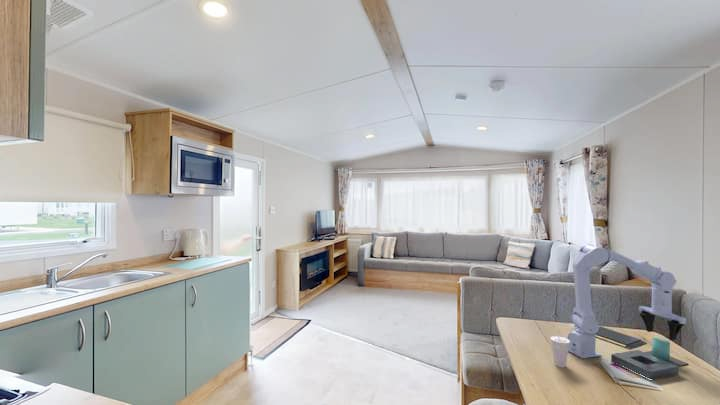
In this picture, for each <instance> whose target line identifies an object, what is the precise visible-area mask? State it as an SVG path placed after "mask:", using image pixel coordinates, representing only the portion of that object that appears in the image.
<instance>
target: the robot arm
mask: <svg viewBox="0 0 720 405" xmlns="http://www.w3.org/2000/svg"><path fill="white" fill-rule="evenodd" d="M577 253H578V254H577V256H576V258H575V259H574V261H573V263H572V269H573V282H574V294H575V307H573V310H572V311H573V312H572V315H571V322H572V323H573V324H574V326H573V330H572V331H571V332H569V333H568V335H567V339H568V340H569V341H570V345H569V349H568V353H571V354H573V355H576V356H577V357H580V358H581V359H588V358H589V359H591V358H594V357H595V358H596V357H600V356H602V354H601V353H600V352H597V351H596V339H597V338H596V332H598V330H599V327H600V324H599V322H598V321H597V319H596V318H597V317H596V314H595V313H594V310H593V305H592V304H593V303H592V291H591V278H590V270H591V269H593V268H595V267H596V266H599V265H601V264H604V263H606V262H609V263H610V262H615V263H617V264H620V265H622V266H623V267H624V266H625V267H627V268H629V269H630V270H631V273H633V274H635V275H637V276H639V277H641V278H644V279H646V280H648V281H650V283H651V307H648V306H644V305H639V306H638V311H639V312H640V313H639V316H640V317H641V319H642V320H643V322H644V326H645V329H646V332H648V333H651V332H654V331H653V330H654V320H655V317H656V316H657V317H660V318H662V319H666V320H669V321H667V326H668V328H669V331H668V332H669V336H668V337H669V340H670V341H674V340H675V341H676V340H677V336H678V334H679V332H680V330H681V329H682V328H683V327H684V326H685V324H687V318H686V317H683V316H680V315H677V314H674V313H673V312H672V310H673V307H672V305H673V303H672V302H673V301H672V298H673V296H672V295H673V290H674V286H675V285H676V283H677V279H676V278H675V276H674V274H673V273H672V272H669V271H666V270H663V269H662V268H661V266H660V267H659V266H654V265H652V264H649V261H646V260H639V259H638V260H633V259H631V258H629V257H626V256H624V255H622V254H620V253H619V252H616V251H614V250H609V249H606V248H604V247H598V246H595V245H593V244H584V245H583V246H582V247H580V248H579V249H578V252H577Z"/></svg>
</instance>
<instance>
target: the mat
mask: <svg viewBox="0 0 720 405" xmlns="http://www.w3.org/2000/svg"><path fill="white" fill-rule="evenodd" d="M643 352H644V353H647V354H649V355H652V350H649V351H643ZM668 362H669V363H671V364H673V365H676V366H678V367H684V366H688V365H689V363H687V362H685V361H683V360H680V359H678V358H675V357H673V356H671V355H670V361H668Z"/></svg>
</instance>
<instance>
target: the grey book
mask: <svg viewBox="0 0 720 405" xmlns="http://www.w3.org/2000/svg"><path fill="white" fill-rule="evenodd" d="M596 339H599V340H601V341H604V342H607V343H609V344H613V345H615V346H618V347H621V348H622V349H627V350H629V351H631V350H633V349H636V348H639V347H642V346H645V345H647V344H648V342H646V341H644V340H643V339H640V338H638V337H634V336H632V335H631V336H630V335H628V334H625V333H621V332H619V331H616V330H613V329H610V328H607V327H603V326H600V325H599V330H598V332H596Z"/></svg>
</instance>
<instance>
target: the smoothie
mask: <svg viewBox="0 0 720 405" xmlns="http://www.w3.org/2000/svg"><path fill="white" fill-rule="evenodd" d="M550 342H551V347H552V348H551V350H552V356H553V364H554V365H555V366H556V367H558V368H566V367H567V362H568V356H569V355H568V354H569V351H568V349H569V345H570V341H569V340H568V338H566V337H564V336H560V327H559V326H558V327H557V335H553V336H550Z"/></svg>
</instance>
